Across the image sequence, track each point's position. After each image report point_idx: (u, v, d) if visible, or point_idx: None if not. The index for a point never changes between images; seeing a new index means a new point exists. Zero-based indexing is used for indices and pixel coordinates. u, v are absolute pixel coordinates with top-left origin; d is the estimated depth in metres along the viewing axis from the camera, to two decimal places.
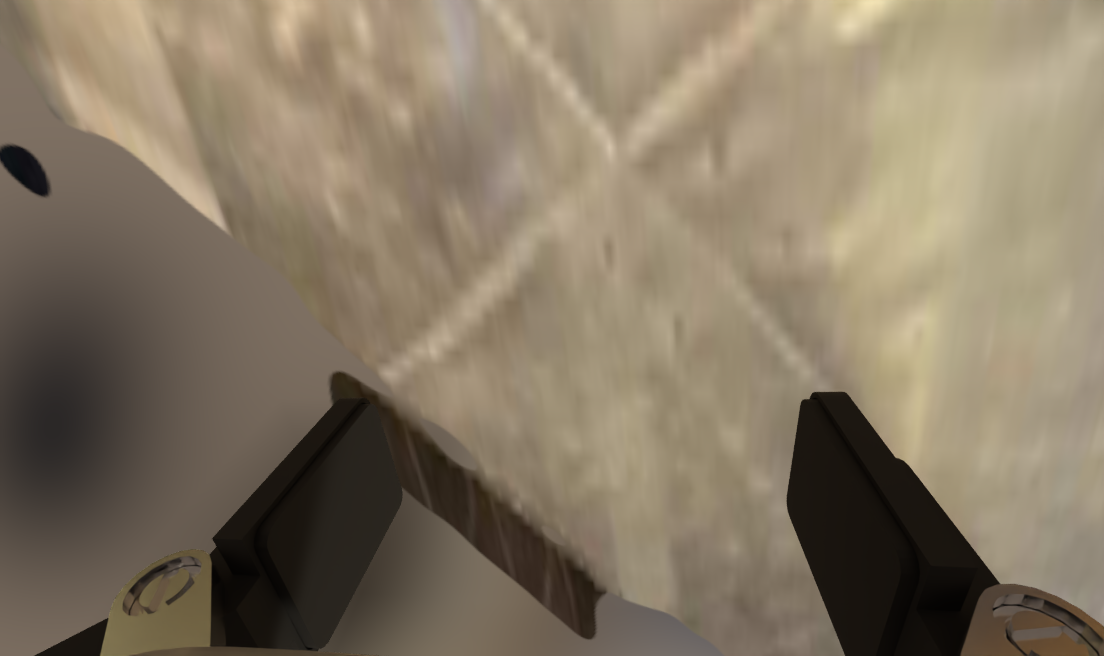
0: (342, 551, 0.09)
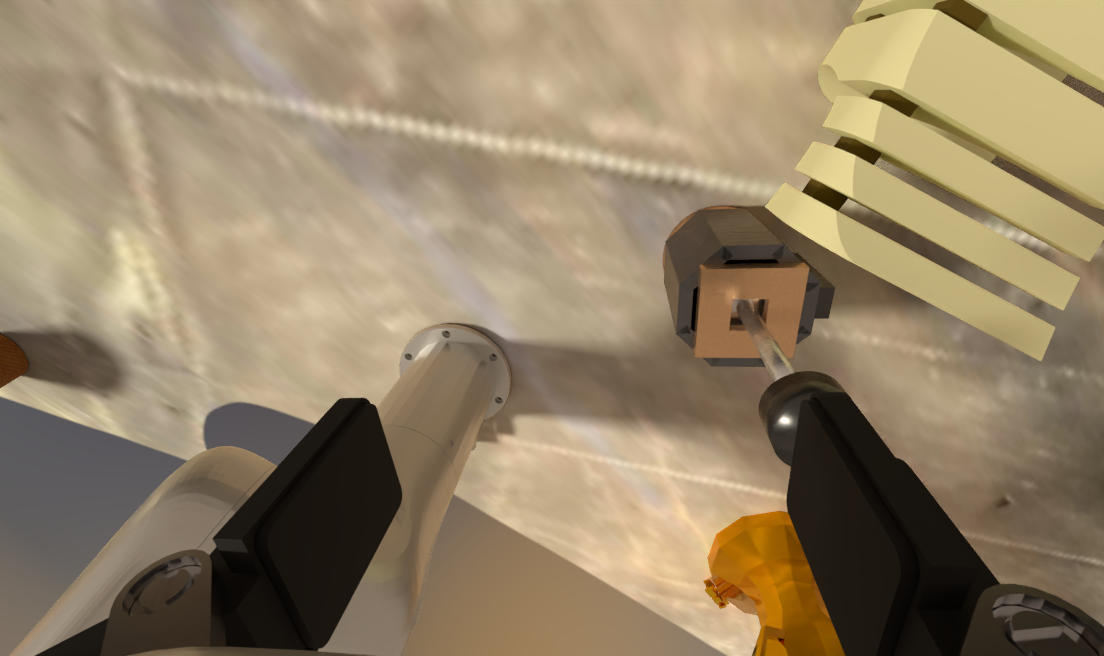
0: (342, 551, 0.09)
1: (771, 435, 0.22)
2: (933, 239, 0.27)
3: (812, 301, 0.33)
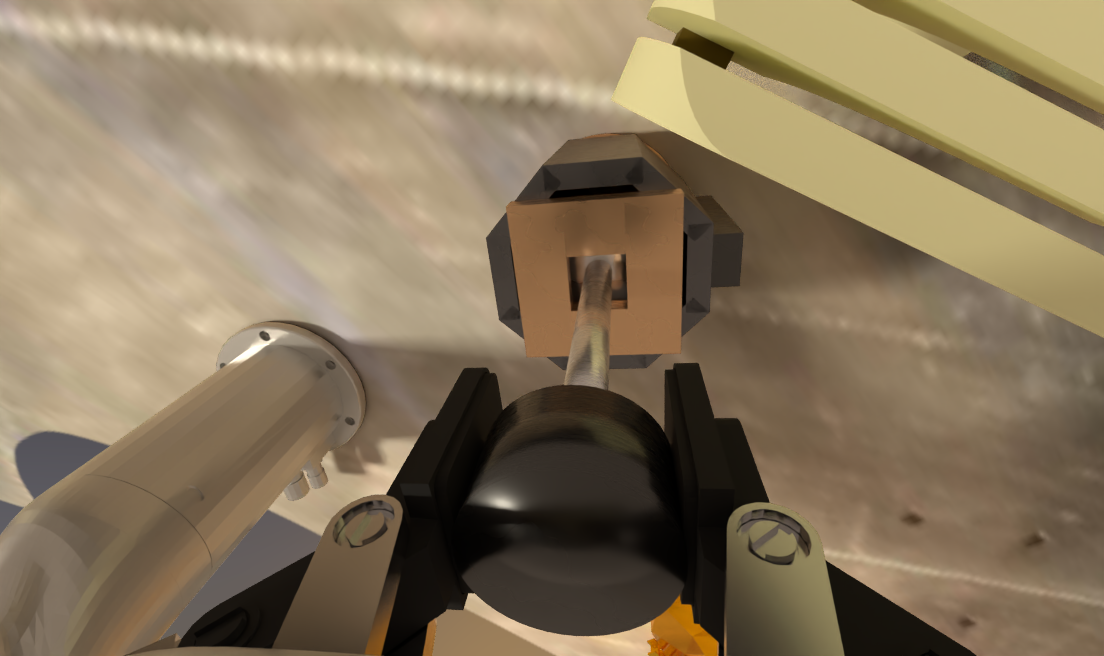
0: None
1: None
2: (887, 103, 0.13)
3: (704, 256, 0.20)
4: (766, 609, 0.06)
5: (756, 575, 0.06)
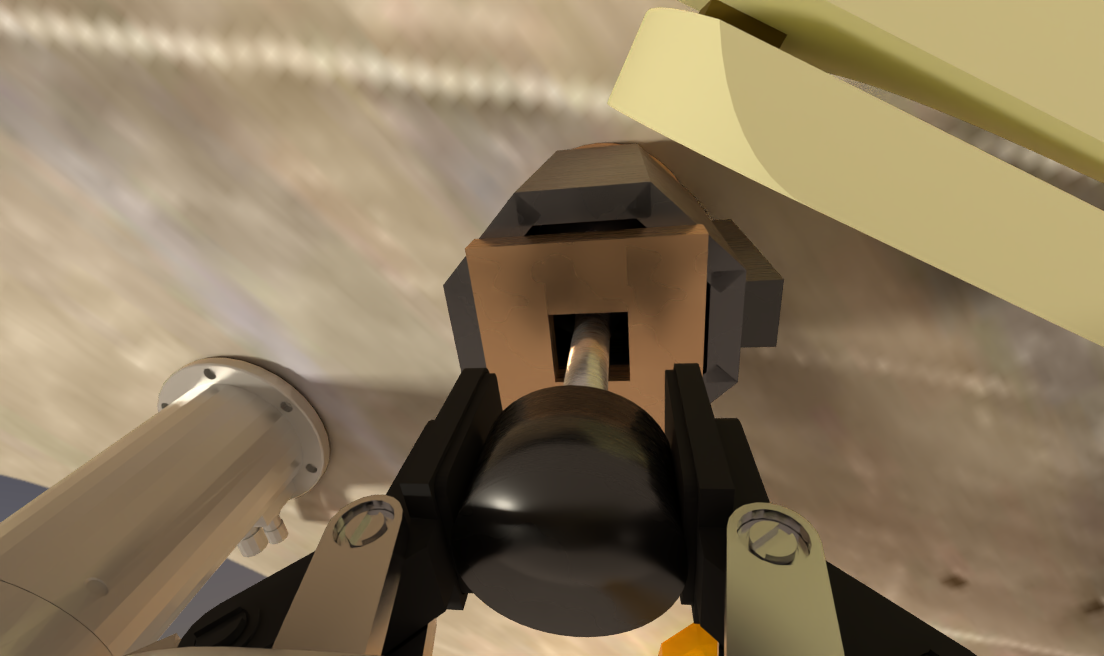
0: None
1: None
2: (1051, 110, 0.08)
3: (732, 312, 0.15)
4: (767, 609, 0.06)
5: (756, 575, 0.06)
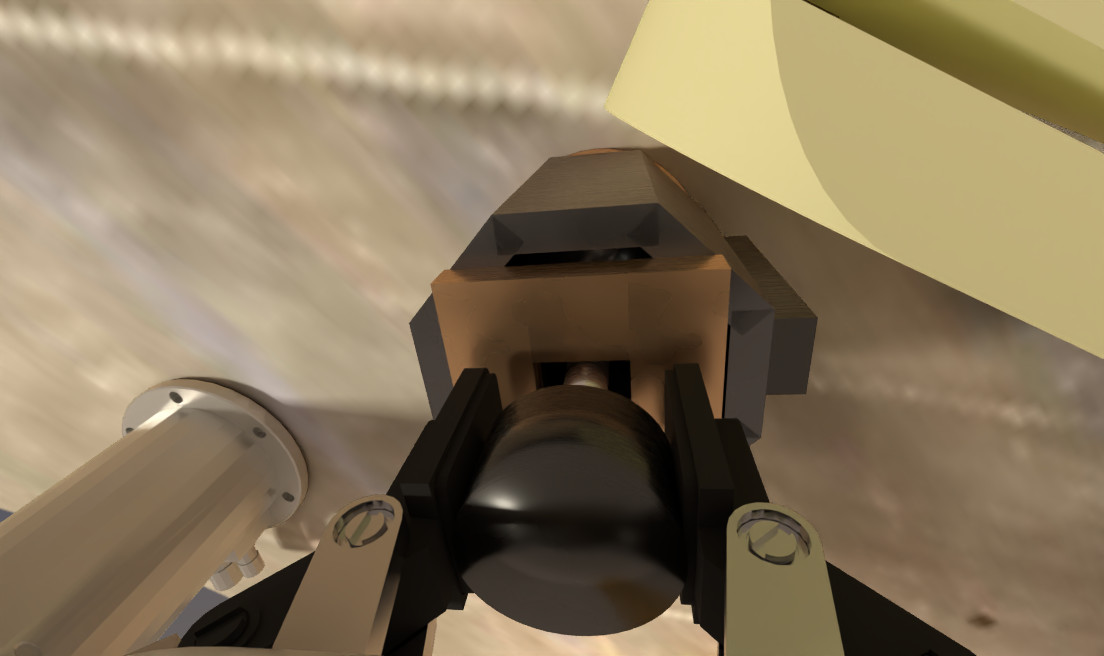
0: None
1: None
2: None
3: (756, 359, 0.12)
4: (766, 609, 0.06)
5: (756, 575, 0.06)
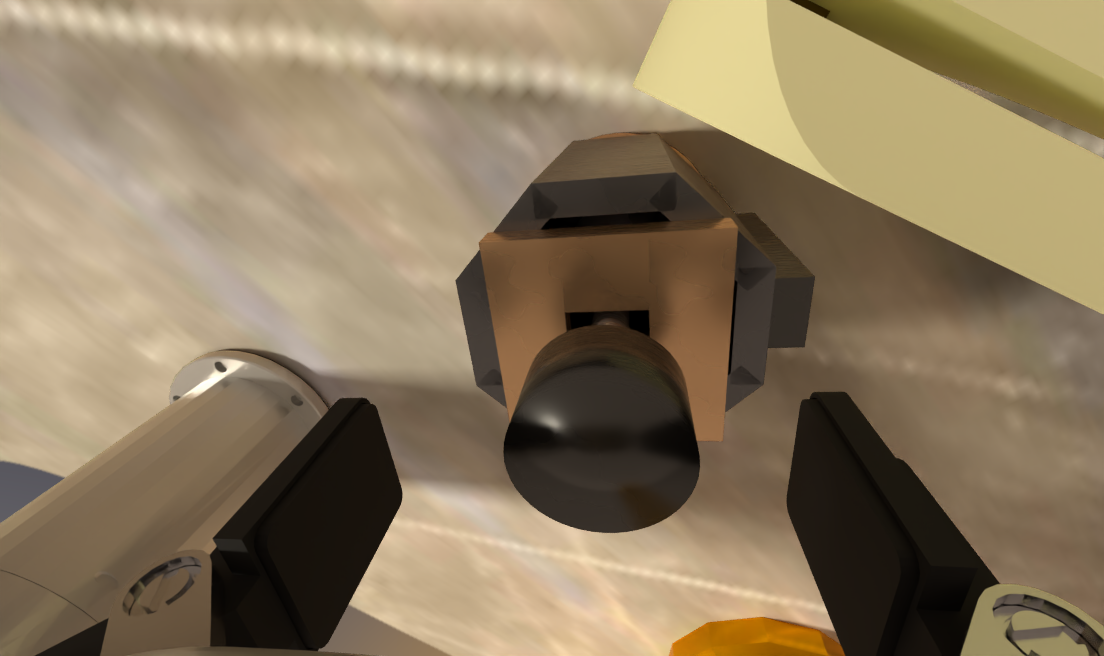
0: (342, 551, 0.09)
1: None
2: None
3: (759, 311, 0.14)
4: None
5: None
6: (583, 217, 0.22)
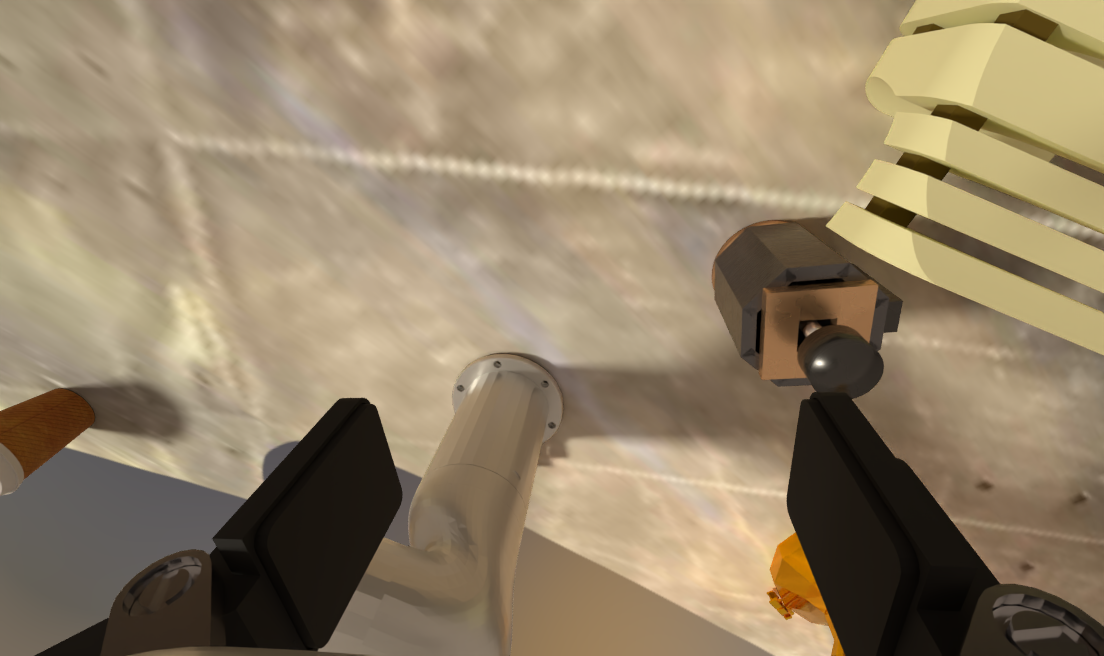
0: (342, 551, 0.09)
1: (809, 374, 0.29)
2: (1014, 253, 0.26)
3: (881, 317, 0.33)
4: None
5: None
6: None
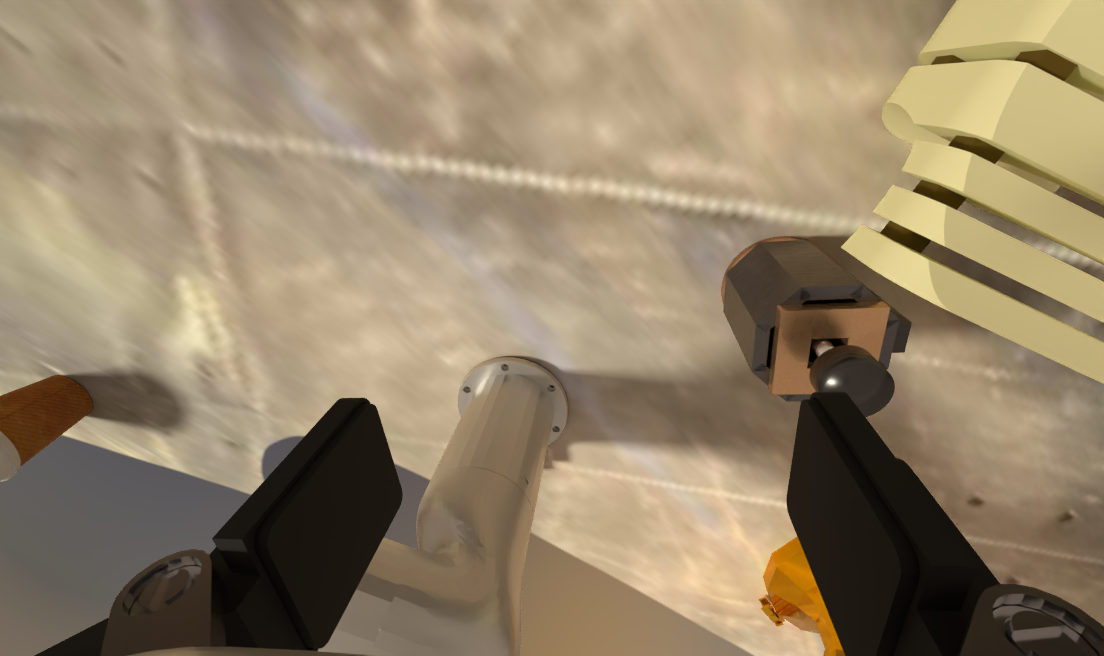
0: (342, 551, 0.09)
1: None
2: (1025, 283, 0.27)
3: (890, 337, 0.34)
4: None
5: None
6: None
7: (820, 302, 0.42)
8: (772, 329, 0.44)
